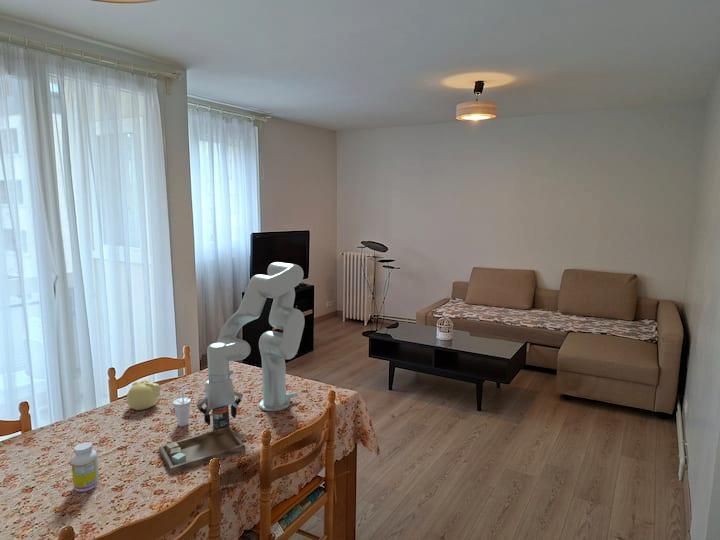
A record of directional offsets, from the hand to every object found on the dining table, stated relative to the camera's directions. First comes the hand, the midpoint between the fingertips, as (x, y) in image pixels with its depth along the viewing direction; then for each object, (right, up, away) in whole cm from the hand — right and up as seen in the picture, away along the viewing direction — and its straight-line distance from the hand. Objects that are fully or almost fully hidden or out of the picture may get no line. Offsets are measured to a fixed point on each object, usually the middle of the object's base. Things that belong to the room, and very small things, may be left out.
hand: (221, 420), depth 175 cm
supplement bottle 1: (-30, -9, -35) cm, 47 cm away
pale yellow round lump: (-38, -1, +19) cm, 42 cm away
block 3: (-6, -6, -24) cm, 26 cm away
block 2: (-8, -6, -21) cm, 24 cm away
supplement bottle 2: (0, -4, +1) cm, 3 cm away
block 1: (-11, -5, -18) cm, 22 cm away
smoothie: (-15, -3, +3) cm, 16 cm away
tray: (-1, -6, -16) cm, 17 cm away
